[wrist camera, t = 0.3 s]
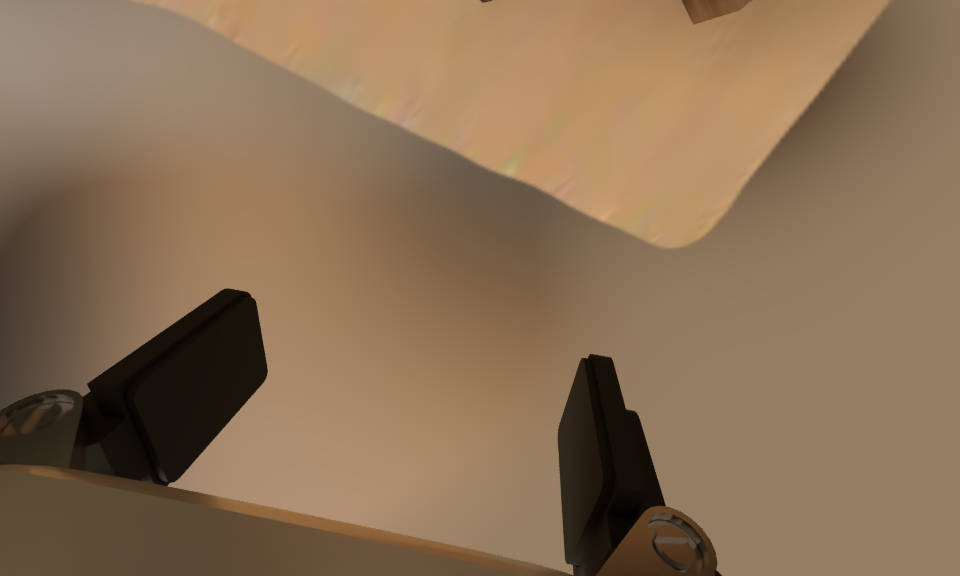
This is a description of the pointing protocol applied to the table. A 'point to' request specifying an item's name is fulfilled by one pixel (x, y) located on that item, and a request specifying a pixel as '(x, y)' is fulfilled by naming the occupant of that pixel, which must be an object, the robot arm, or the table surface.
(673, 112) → the table surface
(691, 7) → the shelf
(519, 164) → the table surface
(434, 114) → the table surface
